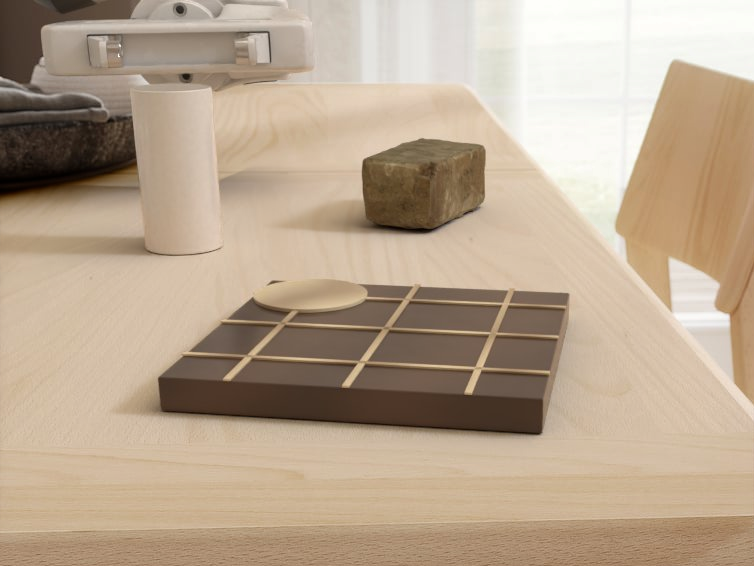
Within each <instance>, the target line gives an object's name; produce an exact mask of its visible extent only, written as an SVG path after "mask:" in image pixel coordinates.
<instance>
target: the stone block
mask: <svg viewBox="0 0 754 566" xmlns="http://www.w3.org/2000/svg"><path fill="white" fill-rule="evenodd" d="M486 154H487V150H486V148H485V146H484V145H482V144H478V143H473V142H472V143H471V142H459V141H450V140H444V139H435V138H423V137H421V138H418V139H415V140H410V141H406V142H405V141H404V142H401V143H400V144H398V145H396V146H395V147H391V148H388V149H385V150H382V151H380V152H378V153H375V154H373V155H370V156H367V157H365V158H363V159H362V163H361V164H362V165H361V181H362V197H363V204H364V210H365V211H364V213H365V218H366V220H368V221H370V222H371V223H374V224H377V225H381V226H389V227H390V226H391V227H397V228H403V229H407V230H409V229H410V230H412V229H428V230H433V229H436V228H438V227H440V226H442V225H444V224H446V223H448V222H450V221H453V220H455V219H458V218H461V217H463V216H464V214H466V213H468V212H470V211H475V210H476V209H477V207H479V206H480V205H482V204H483V203H484V201H485V198H486V178H485V177H486V176H485V175H486V174H485V172H486V171H485V169H486V159H487V158H486Z"/></svg>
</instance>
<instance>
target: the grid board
mask: <svg viewBox="0 0 754 566" xmlns="http://www.w3.org/2000/svg"><path fill="white" fill-rule="evenodd" d="M421 285H422V284H421V283H420V284H419V283H414V285H412V286H411V285H391V284H365V283H355V282H351V281H348V280H347V281H346V280H339V279H328V278H303V279H292V280H277V279H276V280H274V279H273V280H271V281H269V282H268V283H267V284H266V285H264V286H262V287H260V288H259V289H257V290H255V292H253V295H252V297H251V298H249V300H247V301H246V302H245V303H244V304H243V305H242V306H240V307H239V308H238V309H237V310H236V311H234V312H233V313H232V314H231V315H230V316H228V317H227V318H225V319H221V320H220V324H219V325H218V326H217V327H215V328H214V329H213V330H212V331H211V332H209V333H208V334H207V335H206V336H205V337H203V338H202V340H200V341H199V342H198V343H197V344H196V345H194V346H193V347H192V348H190V349H189V350H188V351H184V352H182V353H181V356H182V357H180V358H179V359H178V360H177V361H175V362H174V363H173V364H172V365H171V366H170V367H168V368H167V369H166V370H165V371H164V372H163V373H161V374H160V375H159V376H158V377H157V383H158V392H159V403H160V405H159V406H160V410H161V411H164V412H165V411H166V412H167V411H168V412H181V413H197V414H214V415H230V416H244V417H245V416H246V417H261V418H263V417H265V418H278V419H280V418H281V419H298V420H313V421H329V422H345V423H346V422H347V423H360V424H361V423H363V424H376V425H377V424H379V425H380V424H381V425H393V426H395V425H396V426H411V427H412V426H413V427H429V428H443V429H445V428H446V429H463V430H477V431H479V430H480V431H495V432H509V433H510V432H512V433H527V434H542V433H543V431H544V428H545V427H544V426H545V422H546V419H547V414H548V410H549V405H550V401H551V397H552V392H553V389H554V385H555V380H556V376H557V370H558V367H559V362H560V359H561V355H562V349H563V346H564V340H565V336H566V332H567V328H568V324H569V319H570V318H569V317H570V293H569V292H556V291H555V292H553V291H533V290H532V291H529V290H528V291H527V290H516V288H513V287H509V288H508V290H507V289H484V288H483V289H481V288H460V287H439V286H438V287H435V286H421Z"/></svg>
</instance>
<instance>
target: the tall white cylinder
mask: <svg viewBox="0 0 754 566" xmlns="http://www.w3.org/2000/svg"><path fill="white" fill-rule="evenodd" d="M129 99H130V109H131V118H132V129H133V137H134V146H135V158H136V168H137V169H136V170H137V177H138V178H137V179H138V186H139V187H138V188H139V198H140V207H141V208H140V209H141V216H142V217H141V218H142V226H143V227H142V228H143V236H144V246H145V249H146V250H147V251H148V252H151V253H154V254H160V255H167V256H168V255H169V256H171V255H172V256H181V255H183V256H186V255H196V254H203V253H208V252H209V253H210V252H213V251H216V250H218V249H221V248H222V247H223V246H224V236H223V234H224V233H223V223H222V222H223V221H222V220H223V219H222V208H221V195H220V181H219V166H218V155H217V142H216V129H215V128H216V127H215V115H214V102H213V92H212V87H211V86H209V85H203V84H185V83H172V84H141V85H135V86H131V87H129Z"/></svg>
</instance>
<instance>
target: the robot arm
mask: <svg viewBox="0 0 754 566" xmlns="http://www.w3.org/2000/svg"><path fill="white" fill-rule="evenodd" d="M33 1H34V2H36V3H37V4H39V5H41V6H43V7H45V8H47V9H49V10H51V11H53V12H56V13H58V14H60V15H65V14H68V13H73V12H75V11H79V10H83V9H85V8H89V7H93V6H95V5H98V4H100V3H101V2H105V1H107V0H33ZM40 39H41V40H40V41H41V48H42V55H43V61H44V66H45V67H44V68H45V70H46V72H47V74H49V75H51V76H55V77H92V76H93V77H95V76H96V77H98V76H131V75H132V76H135V75H137V76H138V75H140V76H141V77H142V78H143V79H144V81H146V82H147V83H148V85H150V84H172V83H185V84H203V85H209V86H211V87H212V93H213V92H215V93H218V92H222V91H225V90H227V89H230V88H233V87H237V86H241V85H243V86H246V85H252V84H261V83H273V82H274V83H275V82H278V81H287V80H289V79H291V78H292V75H293V74H300V73H308V72H311V71H312V70H314V68H315V63H316V62H315V58H316V57H315V56H316V55H315V36H314V26H313V22H312V20H311V19H310V17H308V16H307V15H306V14H305V13H303V12H302V11H299V10H298V9H294V8H291V7H289V3H288V0H139V2H138V3H137V4H136V5H135V7H134V9H133V11H132V13H131V15H130V17H129V19H127V18H126V19H83V20H82V19H81V20H78V19H77V20H67V21H66V20H65V21H60V22H54V23H49V24H45V25H43V26H42V27H41V29H40Z"/></svg>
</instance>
